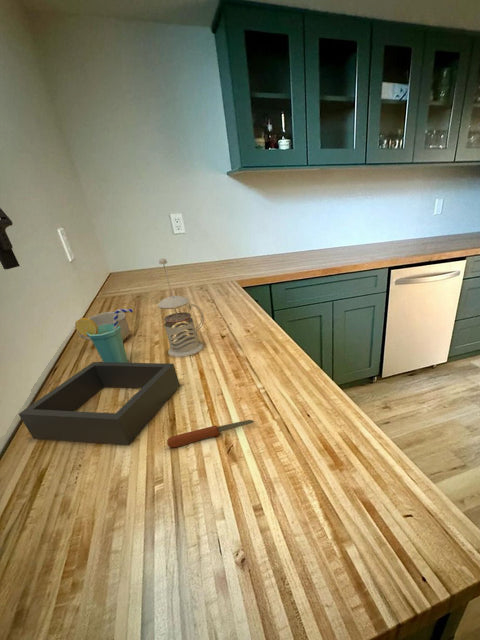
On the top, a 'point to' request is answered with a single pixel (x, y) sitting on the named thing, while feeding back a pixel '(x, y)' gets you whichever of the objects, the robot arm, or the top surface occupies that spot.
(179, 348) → the french press
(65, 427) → the frame
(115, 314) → the cup
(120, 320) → the teacup
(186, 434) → the kitchen knife
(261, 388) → the top surface
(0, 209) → the robot arm
